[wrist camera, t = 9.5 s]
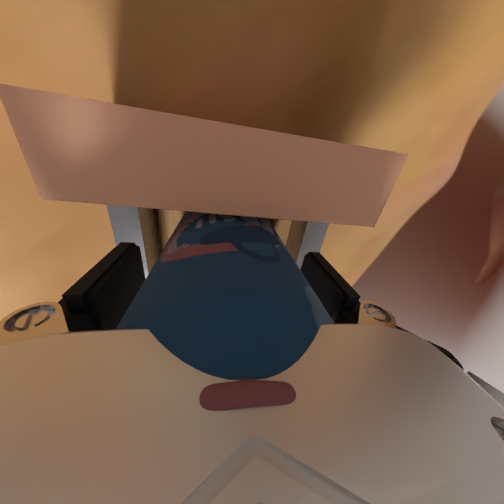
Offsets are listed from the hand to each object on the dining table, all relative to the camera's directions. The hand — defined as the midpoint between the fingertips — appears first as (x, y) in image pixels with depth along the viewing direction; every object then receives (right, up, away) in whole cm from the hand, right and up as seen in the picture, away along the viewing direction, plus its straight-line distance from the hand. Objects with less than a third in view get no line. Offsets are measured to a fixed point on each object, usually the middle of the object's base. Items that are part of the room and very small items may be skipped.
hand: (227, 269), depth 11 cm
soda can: (-1, +2, +4) cm, 4 cm away
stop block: (0, +7, +1) cm, 7 cm away
